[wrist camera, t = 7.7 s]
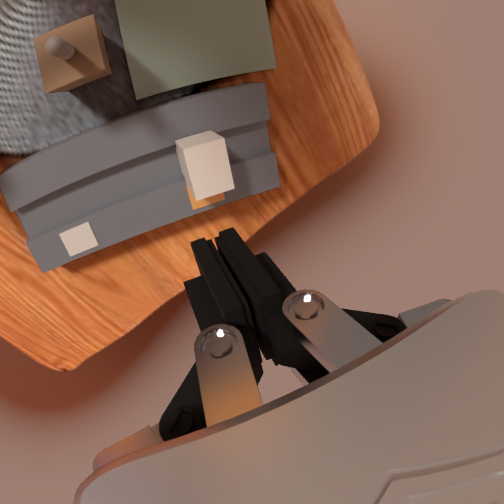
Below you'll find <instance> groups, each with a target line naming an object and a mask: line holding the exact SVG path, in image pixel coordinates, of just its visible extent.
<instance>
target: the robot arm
mask: <svg viewBox="0 0 504 504" xmlns="http://www.w3.org/2000/svg"><path fill="white" fill-rule="evenodd" d="M215 241H216V245H217V249H218V251H217V249H216V247H215V245H214V244H213V242H212V240H211V239H210V240H207V241H206V240H205V238H201V239H198V240H196V241H193V242H190V243H191V247H192V250H193V253H194V256H195V259H196V262H197V265H198V268H199V271H200V274H201V276H199V277H196V278H194V279H191V280H188V281H185V282H183V283H184V286H185V289H186V291H187V295H188V297H189V300H190V303H191V306H192V308H193V311H194V314H195V317H196V319H197V322H198V325H199V327H200V330H201V333H200V334H199V335H198V336H197V338H196V340H195V343H194V352H195V358H196V362H195V364H194V365H193V367H192V368H191V370H190V372H189V373H188V375H187V376H186V378H185V380H184V381H183V383H182V384H181V386H180V388H179V389H178V391H177V393H176V394H175V396H174V397H173V399H172V401H171V403H170V404H169V405H168V407H167V409H166V410H165V412H164V413H163V415H162V417H161V419H160V422H159V423H158V424H156V425H155V426H153V427H150V426H149V425H148V426H147V427H145V428H143V429H141V430H140V431H138V432H136V433H134V434H132V435H130V436H128V437H126V438H124V439H123V440H121V441H119V442H117V443H115V444H113V445H111V446H109V447H107V448H105V449H103V450H102V451H100V452H99V453H98V454H97V455H96V457H95V458H94V460H93V471H94V472H93V473H92V474H91V475H89V476H88V477H87V478H86V479H85V480H84V481H83V482H82V483H81V484H80V486H79V487H78V489H77V490H76V492H75V496H74V500H73V504H504V293H502V292H500V291H497V290H480V291H476V292H471V293H468V294H465V295H463V296H460V297H458V298H456V299H454V300H449V299H440V300H437V301H434V302H431V303H428V304H426V305H423V306H420V307H417V308H414V309H411V310H408V311H405V312H402V313H399V315H398V317H393V316H389V315H384V314H376V313H369V312H362V311H355V310H348V309H341V308H340V307H338V306H337V305H336V304H335V303H334V302H332V301H331V300H330V299H329V298H327V297H326V296H325V295H323V294H322V293H320V292H318V291H315V290H306V289H305V290H299V291H296V290H295V288H294V287H293V286H292V284H291V283H290V282H289V281H288V279H287V278H286V277H285V276H284V275H283V273H282V272H281V271H280V269H279V268H278V267H277V266H276V265H275V264H274V262H273V261H272V260H271V258H270V257H269V256H268V255H267V254H266V253H265V252H263V253H260V254H258V255H255V256H254V255H253V253H252V252H251V251H250V249H249V248H248V246H247V245H246V244H245V242H244V241H243V240H242V238H241V237H240V236H239V234H238V233H237V232H236V230H235V229H234V228H233V227H232V228H229V229H226V230H224V231H221V232H219V236H218V237H215ZM259 348H260V349H259ZM260 350H261V352H262V353H263V355H264V357H265V359H266V360H269V359H272V360H273V362H274V364H275V365H278V364H280V365H283V366H288V367H290V368H291V371H292V372H293V374H294V375H295V376H296V377H297V378H298V379H299V381H300V382H301V383H302V384H303V385H304V387H302V388H300V389H297V390H295V391H293V392H291V393H289V394H287V395H285V396H283V397H280V398H278V399H276V400H274V401H271V402H269V403H267V404H264V405H263V402H262V399H261V396H260V393H259V389H258V386H257V385H258V383H259V381H260V379H261V377H262V375H263V369H262V366H261V363H262V358H261V353H260Z"/></svg>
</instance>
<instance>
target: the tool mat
mask: <svg viewBox="0 0 504 504" xmlns="http://www.w3.org/2000/svg"><path fill="white" fill-rule="evenodd" d="M115 6H116V11H117V16H118V21H119V26H120V31H121V36H122V41H123V45H124V50H125V54H126V59H127V63H128V67H129V72H130V76H131V80H132V84H133V88H134V92H135V96H136V100H139V99H142V98H145V97H149V96H152V95H155V94H159V93H162V92H165V91H169V90H173V89H176V88H180V87H184V86H188V85H192V84H196V83H200V82H204V81H209V80H213V79H218V78H223V77H228V76H233V75H238V74H244V73H249V72H255V71H262V70H269V69H276V68H277V65H276V59H275V53H274V47H273V41H272V36H271V30H270V24H269V19H268V14H267V9H266V3H265V0H115Z"/></svg>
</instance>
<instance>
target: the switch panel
mask: <svg viewBox="0 0 504 504" xmlns="http://www.w3.org/2000/svg"><path fill="white" fill-rule="evenodd" d="M270 119H271V118H270V111H269V105H268V99H267V93H266V86H265V82H249V83H244V84H239V85H234V86H229V87H224V88H219V89H215V90H211V91H206V92H202V93H198V94H194V95H190V96H186V97H183V98H179V99H175V100H172V101H168V102H165V103H162V104H158V105H155V106H152V107H149V108H145V109H142V110H139V111H136V112H133V113H130V114H127V115H125V116H122V117H119V118H116V119H113V120H111V121H108V122H105V123H103V124H100V125H98V126H95V127H93V128H90V129H88V130H85V131H83V132H80V133H78V134H76V135H73V136H71V137H69V138H67V139H64V140H62V141H60V142H58V143H56V144H53V145H51V146H49V147H47V148H45V149H43V150H41V151H39V152H37V153H35V154H33V155H31V156H29V157H27V158H25V159H23V160H21V161H20V162H18V163H16V164H14V165H12V166H10V167H9V168H7V169H6V170H5V171H3V172H2V173H1V174H0V189H1V191H2V194H3V196H4V198H5V201H6V203H7V205H8V207H9V209H10V212H13V211H16V213H17V215H18V217H19V219H20V222H21V224H22V226H23V228H24V230H25V232H26V234H27V236H28V238H29V239H28V241H27V243H26V244H27V246H28V248H29V249H30V251H31V253H32V255H33V257H34V259H35V260H36V262H37V264H38V266H39V267H40V269H41V271H42V272H43V273H45V272H47V271H49V270H52V269H54V268H56V267H59V266H61V265H64V264H66V263H68V262H71V261H73V260H76V259H78V258H80V257H83V256H85V255H88V254H90V253H93V252H95V251H98V250H100V249H103V248H105V247H108V246H111V245H113V244H116V243H118V242H121V241H124V240H126V239H129V238H131V237H134V236H137V235H139V234H142V233H145V232H147V231H150V230H153V229H156V228H158V227H161V226H164V225H167V224H169V223H172V222H175V221H178V220H181V219H183V218H186V217H189V216H192V215H195V214H198V213H201V212H204V211H207V210H210V209H212V208H215V207H218V206H221V205H224V204H227V203H230V202H233V201H237V200H240V199H243V198H246V197H249V196H252V195H255V194H258V193H262V192H265V191H268V190H271V189H274V188H278V187H280V179H279V172H278V165H277V158H276V153H275V152H273V151H271V146H270V140H269V133H268V127H267V121H266V120H270ZM210 130H211V131H213V132H215V133H216V134H218V135H220V136H222V137H224V139H225V144H226V149H227V154H228V159H229V163H230V168H231V173H232V178H233V183H234V187H235V189H232V190H229V191H226V192H222V193H219V194H216V195H213V196H210V197H207V198H204V199H201V200H198V201H196V200H195V198H194V196H193V195H192V193H191V191H190V190H189V188H188V186H187V184H186V180H185V177H184V175H183V173H182V171H181V167H180V163H179V160H178V156H177V152H176V148H175V147H176V143H175V140H179V139H182V138H185V137H189V136H192V135H195V134H199V133H202V132H206V131H210Z"/></svg>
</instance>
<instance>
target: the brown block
mask: <svg viewBox="0 0 504 504" xmlns="http://www.w3.org/2000/svg"><path fill="white" fill-rule="evenodd" d="M34 43H35V48H36V53H37V58H38V63H39V67H40V72H41V76H42V80H43V84H44V88H45V92H46V94H47V93H56V92H65V91H70V90H73V89H75V88H77V87H80V86H82V85H85V84H87V83H90V82H93V81H95V80H98V79H100V78H103V77H106V76H109V75H112V72H111V68H110V64H109V59H108V55H107V51H106V46H105V41H104V37H103V33H102V31H101V29H100V27H99V25H98V23H97V20H96V18H95V16H94V14H92V15H89V16H86V17H83V18H81V19H78V20H75V21H73V22H70V23H68V24H65V25H63V26H61V27H58V28H56V29H54V30H52V31H49V32H47V33H45V34H43V35H41V36H39V37H37V38H35V39H34Z"/></svg>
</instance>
